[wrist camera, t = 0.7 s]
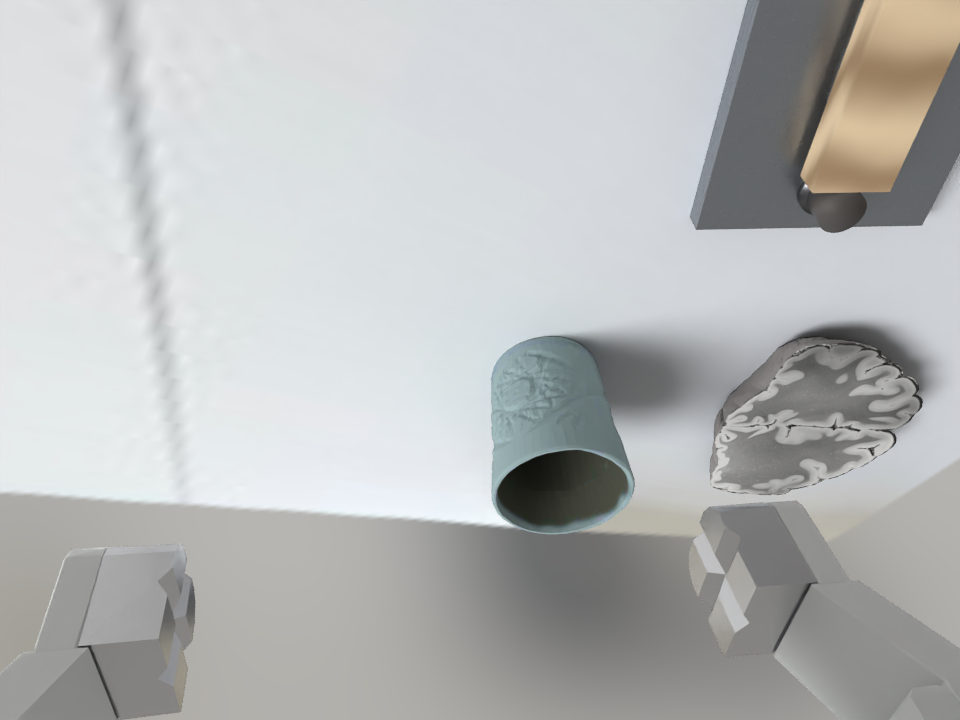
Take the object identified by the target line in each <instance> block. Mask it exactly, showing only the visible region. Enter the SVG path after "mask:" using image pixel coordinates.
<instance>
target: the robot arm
mask: <svg viewBox="0 0 960 720" xmlns="http://www.w3.org/2000/svg"><path fill="white" fill-rule="evenodd" d="M700 524H701V526H702V528H703V531H704V532H703V533H702V534H700V535H699V536H698V537H697V538H695V539H694V540H693V542H692V546H691V549H690V552H689V572H690V576H691V580H692V584H693V586H694V589H695V591H696V594H697V596H698V597H699V598H700V599H701V600H702V601H704V602H705V603H706V604H708V605H709V606H710V607H711V608H712V610H711V613H710V617H709V620H708V621H709V624H710V626H711V628H712V631H713V633H714V635H715V637H716V640H717V642H718V644H719V647H720V649H721V651H722V653H723V656H724V657H733V656H747V655H760V654H774V657H775V658H776V659H777V660H778V661H779V662H780V663H781V664H782V665H783V666H784V667H785V668H786V669H787V670H788V671H789V672H791V673H792V674H793V675H794V676H795V677H796V678H797V679H798V680H799V681H800V682H801V683H802V684H803V685H804V686H805V687H807V689H809V690H810V691H811V692H812V693H813V694H814V695H815V696H816V697H817V698H818V699H819V700H820V701H821V702H822V703H823V704H824V705H825V706H827V707H828V708H829V709H830V710H831V711H832V712H833V713H834V714H835V715H836V716H837V717H838V718H839V719H840V720H960V648H959V647H957V646H956V645H954V644H953V643H951V642H950V641H948V640H947V639H945V638H944V637H942V636H941V635H939V634H938V633H936V632H935V631H933V630H932V629H930V628H929V627H927V626H926V625H924V624H923V623H922V622H920V621H918V620H917V619H916V618H914V617H913V616H911V615H910V614H908V613H907V612H905V611H904V610H902V609H901V608H899V607H898V606H896V605H895V604H893V603H892V602H890V601H889V600H887V599H886V598H884V597H883V596H881V595H880V594H879V593H877V592H875V591H874V590H873V589H871V588H870V587H868V586H867V585H865V584H864V583H862V582H861V581H859V580H858V581H857V580H855V581H850V579H849V578H848V576H847V574H846V573H845V571H844V570H843V568H842V567H841V565H840V563H839V562H838V561H837V559H836V557H835V555H834V554H833V552H832V551H831V549H830V548H829V546H828V544H827V543H826V541H825V540H824V538H823V536H822V535H821V533H820V532H819V530H818V528H817V527H816V525H815V524H814V522H813V521H812V519H811V517H810V516H809V514H808V513H807V511H806V510H805V508H804V507H803V505H802V504H800V503H799V502H797V501H785V502H770V503H763V502H762V503H750V504H737V505H725V506H713V507H709V508H707V509H706V510H705V511H704V512H703V515H702V517H701V520H700ZM186 562H187V557H186V553H185V550H184V547H183V544H169V545H146V546H126V547H125V546H123V547H105V548H86V549H72V550H70V552H69V553H68V555H67V556H66V557H65V559H64V560H63V563H62V566H61V569H60V572H59V575H58V578H57V581H56V584H55V587H54V591H53V593H52V596H51V599H50V602H49V605H48V609H47V611H46V615H45V618H44V621H43V624H42V627H41V630H40V633H39V636H38V639H37V642H36V645H35V648H34V651H33V652H25V653H21V654H20V655H19V656H18V657H17V658H16V659H15V660H14V661H13V662H12V663H11V664H10V665H9V666H7V667H6V669H4V670H3V671H2V672H1V673H0V720H122V719H131V718H138V717H146V716H154V715H161V714H170V713H178V712H181V708H182V703H183V696H184V690H185V684H186V678H187V671H188V668H187V664H186V660H185V656H184V652H183V651H184V650H185V649H186V647H187V646H188V645H189V644H190V643H191V642H192V639H193V632H194V624H195V594H194V586H193V582H192V578H191V577H189V576H188V575H186V574H185V567H186Z"/></svg>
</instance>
